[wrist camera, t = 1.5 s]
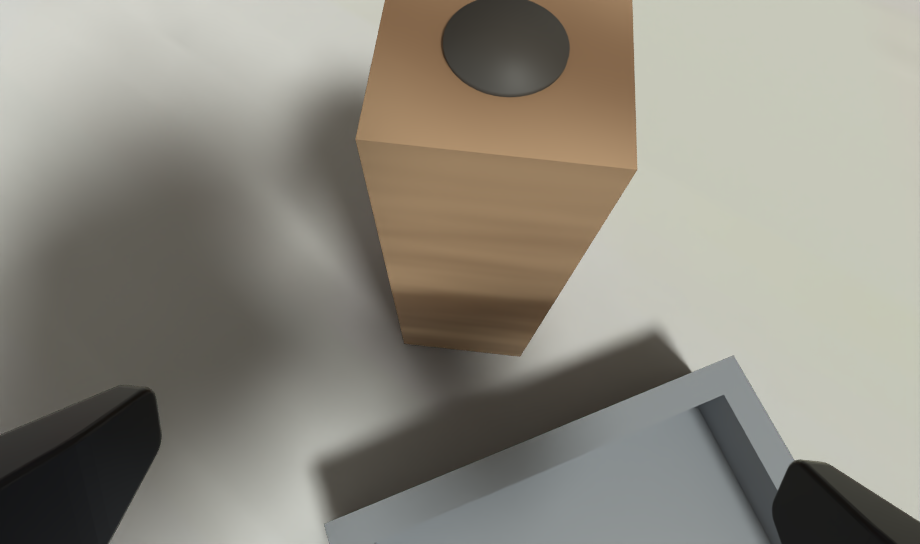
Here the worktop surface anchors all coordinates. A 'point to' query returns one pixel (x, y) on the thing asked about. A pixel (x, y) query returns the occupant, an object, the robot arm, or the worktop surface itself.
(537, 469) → the tray
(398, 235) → the walnut block
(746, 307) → the worktop surface
